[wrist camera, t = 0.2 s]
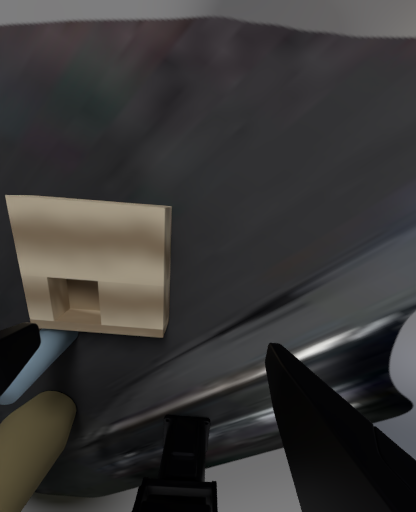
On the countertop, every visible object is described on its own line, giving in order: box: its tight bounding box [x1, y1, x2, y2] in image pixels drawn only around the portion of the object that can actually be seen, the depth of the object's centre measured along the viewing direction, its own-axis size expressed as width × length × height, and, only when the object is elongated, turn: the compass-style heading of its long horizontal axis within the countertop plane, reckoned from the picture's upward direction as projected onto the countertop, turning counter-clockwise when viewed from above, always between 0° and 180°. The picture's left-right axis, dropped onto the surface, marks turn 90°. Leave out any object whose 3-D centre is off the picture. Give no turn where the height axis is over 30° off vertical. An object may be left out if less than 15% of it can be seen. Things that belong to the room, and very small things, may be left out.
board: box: [5, 195, 172, 338], centre depth 21 cm, size 14×14×3 cm
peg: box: [0, 328, 78, 405], centre depth 21 cm, size 4×4×8 cm
